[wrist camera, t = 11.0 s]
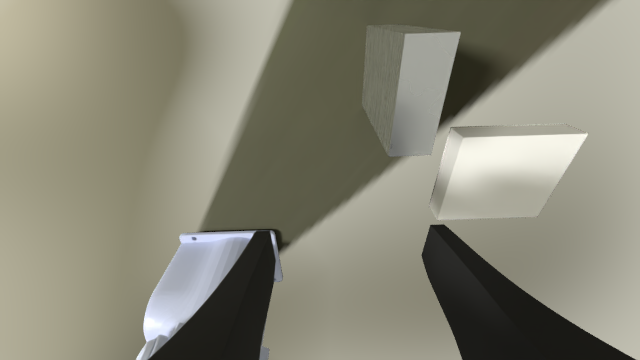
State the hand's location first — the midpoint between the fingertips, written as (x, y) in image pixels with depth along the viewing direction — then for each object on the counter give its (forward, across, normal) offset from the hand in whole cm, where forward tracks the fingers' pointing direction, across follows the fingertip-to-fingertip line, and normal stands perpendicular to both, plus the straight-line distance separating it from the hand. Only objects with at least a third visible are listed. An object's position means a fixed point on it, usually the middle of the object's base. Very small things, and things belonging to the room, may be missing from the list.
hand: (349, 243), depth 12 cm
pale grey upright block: (+10, -3, -6) cm, 12 cm away
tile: (+10, -9, +3) cm, 14 cm away
